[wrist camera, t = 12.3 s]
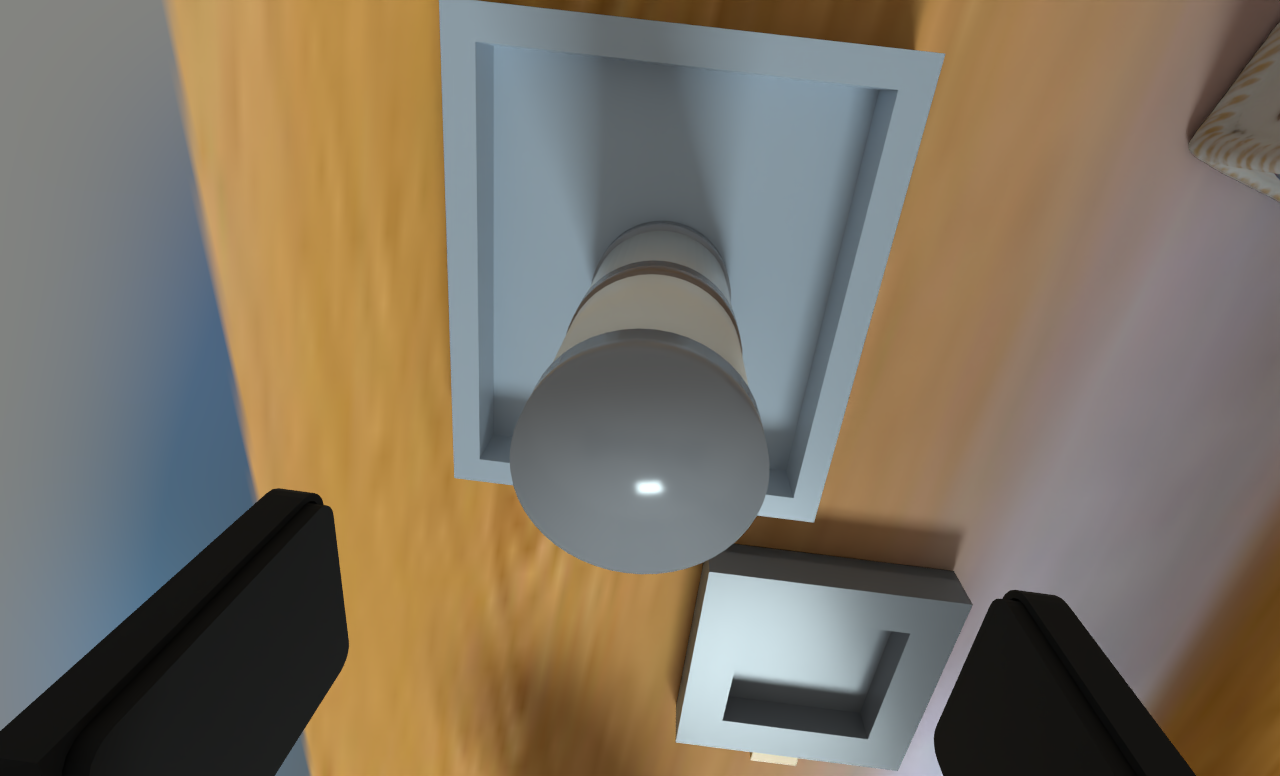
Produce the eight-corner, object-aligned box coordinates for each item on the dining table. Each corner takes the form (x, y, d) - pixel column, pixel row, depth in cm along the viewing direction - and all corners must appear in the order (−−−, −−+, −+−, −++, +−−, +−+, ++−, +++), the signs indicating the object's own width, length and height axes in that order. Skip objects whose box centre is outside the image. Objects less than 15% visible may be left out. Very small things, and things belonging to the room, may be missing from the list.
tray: (914, 58, 19) (945, 54, 17) (802, 485, 26) (814, 522, 24) (467, 7, 19) (438, -4, 17) (474, 444, 26) (454, 477, 24)
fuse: (739, 229, 21) (794, 371, 10) (717, 358, 23) (744, 588, 12) (600, 212, 21) (511, 336, 10) (590, 342, 23) (507, 557, 13)
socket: (953, 571, 28) (972, 604, 26) (873, 763, 34) (883, 801, 32) (707, 540, 28) (709, 571, 26) (670, 737, 34) (669, 773, 32)
